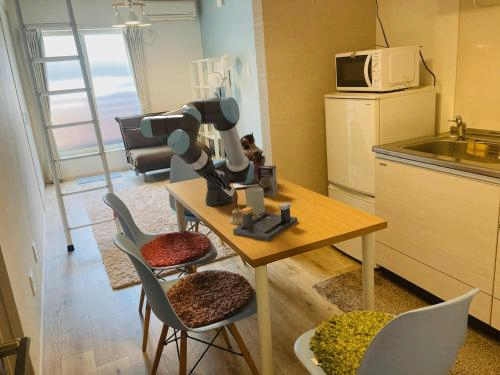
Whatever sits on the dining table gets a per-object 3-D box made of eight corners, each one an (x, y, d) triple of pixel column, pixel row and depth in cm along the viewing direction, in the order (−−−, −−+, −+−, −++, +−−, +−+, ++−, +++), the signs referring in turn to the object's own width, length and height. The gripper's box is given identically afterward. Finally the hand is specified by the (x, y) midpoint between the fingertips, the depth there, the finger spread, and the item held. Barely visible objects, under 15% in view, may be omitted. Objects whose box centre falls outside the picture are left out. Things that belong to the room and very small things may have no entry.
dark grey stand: (233, 233, 174) (231, 212, 172) (263, 215, 193) (262, 196, 190) (268, 241, 164) (267, 218, 161) (297, 221, 182) (296, 201, 179)
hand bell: (235, 226, 183) (232, 192, 179) (225, 221, 190) (222, 189, 185) (250, 221, 188) (247, 188, 183) (240, 217, 194) (237, 185, 190)
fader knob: (242, 228, 175) (240, 210, 173) (248, 224, 179) (247, 206, 177) (248, 229, 173) (246, 211, 171) (254, 225, 177) (253, 207, 175)
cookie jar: (231, 180, 264) (226, 132, 256) (268, 176, 267) (264, 128, 258) (234, 190, 241) (229, 137, 232) (274, 185, 243) (270, 133, 234)
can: (267, 208, 203) (265, 186, 200) (261, 215, 194) (260, 191, 191) (250, 208, 206) (248, 185, 203) (244, 214, 198) (242, 191, 194)
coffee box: (259, 195, 226) (256, 167, 221) (262, 192, 231) (260, 165, 227) (274, 196, 222) (272, 168, 218) (277, 192, 228) (276, 165, 223)
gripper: (183, 169, 149) (216, 199, 166) (209, 171, 141) (241, 202, 159) (191, 152, 152) (223, 183, 169) (217, 154, 144) (248, 186, 161)
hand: (232, 193), depth 164 cm, fingers closed
